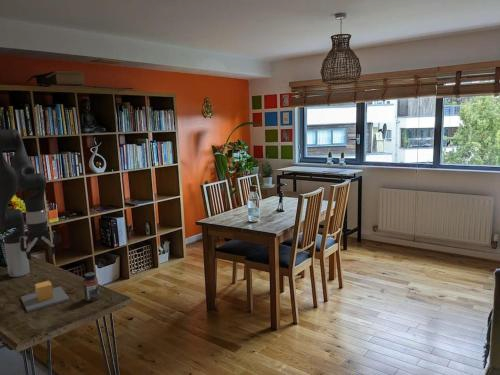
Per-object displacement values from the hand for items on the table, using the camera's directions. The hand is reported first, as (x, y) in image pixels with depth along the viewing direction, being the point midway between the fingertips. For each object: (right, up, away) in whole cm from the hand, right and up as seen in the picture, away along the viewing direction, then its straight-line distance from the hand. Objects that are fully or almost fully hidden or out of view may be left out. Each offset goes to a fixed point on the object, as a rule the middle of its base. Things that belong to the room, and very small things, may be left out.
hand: (41, 257), depth 168 cm
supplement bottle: (+22, -18, +1) cm, 28 cm away
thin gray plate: (+1, -19, +1) cm, 19 cm away
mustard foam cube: (+1, -18, +1) cm, 18 cm away
